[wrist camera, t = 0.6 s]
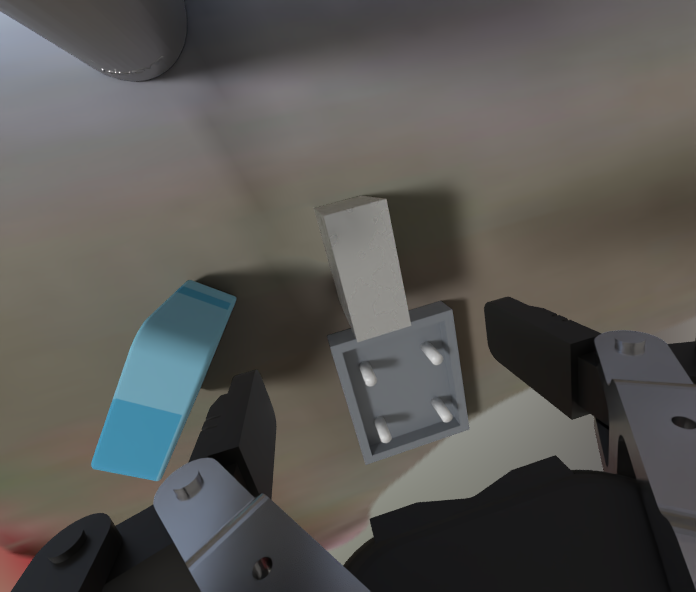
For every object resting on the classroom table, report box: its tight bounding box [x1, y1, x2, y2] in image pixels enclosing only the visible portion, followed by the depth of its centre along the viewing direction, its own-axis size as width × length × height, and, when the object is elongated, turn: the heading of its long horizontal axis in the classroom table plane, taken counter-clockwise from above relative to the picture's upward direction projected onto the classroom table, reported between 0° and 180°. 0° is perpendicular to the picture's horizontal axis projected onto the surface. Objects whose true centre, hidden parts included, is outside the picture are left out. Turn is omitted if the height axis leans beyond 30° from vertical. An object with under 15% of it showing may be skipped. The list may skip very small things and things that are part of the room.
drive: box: [314, 196, 411, 342], centre depth 28 cm, size 10×4×9 cm, turn 14°
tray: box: [327, 301, 469, 465], centre depth 36 cm, size 16×13×4 cm
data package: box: [91, 280, 236, 481], centre depth 27 cm, size 12×4×12 cm, turn 154°
